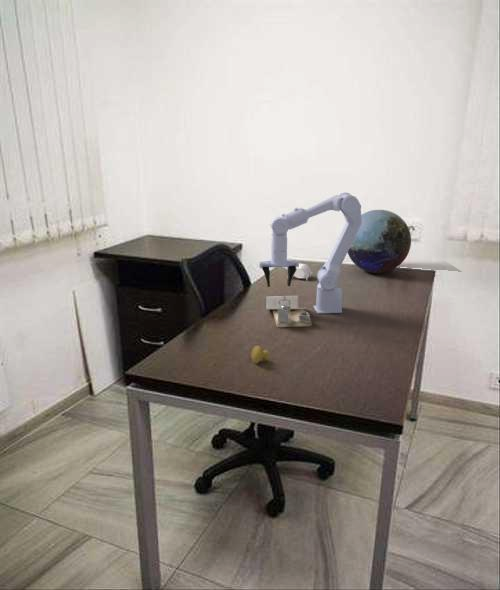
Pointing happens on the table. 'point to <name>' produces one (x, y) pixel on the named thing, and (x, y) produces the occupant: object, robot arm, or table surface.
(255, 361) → the knob
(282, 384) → the table surface
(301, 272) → the white rounded lump
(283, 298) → the ink cartridge box
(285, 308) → the hinge block
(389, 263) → the decorative globe
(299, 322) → the beige piece
